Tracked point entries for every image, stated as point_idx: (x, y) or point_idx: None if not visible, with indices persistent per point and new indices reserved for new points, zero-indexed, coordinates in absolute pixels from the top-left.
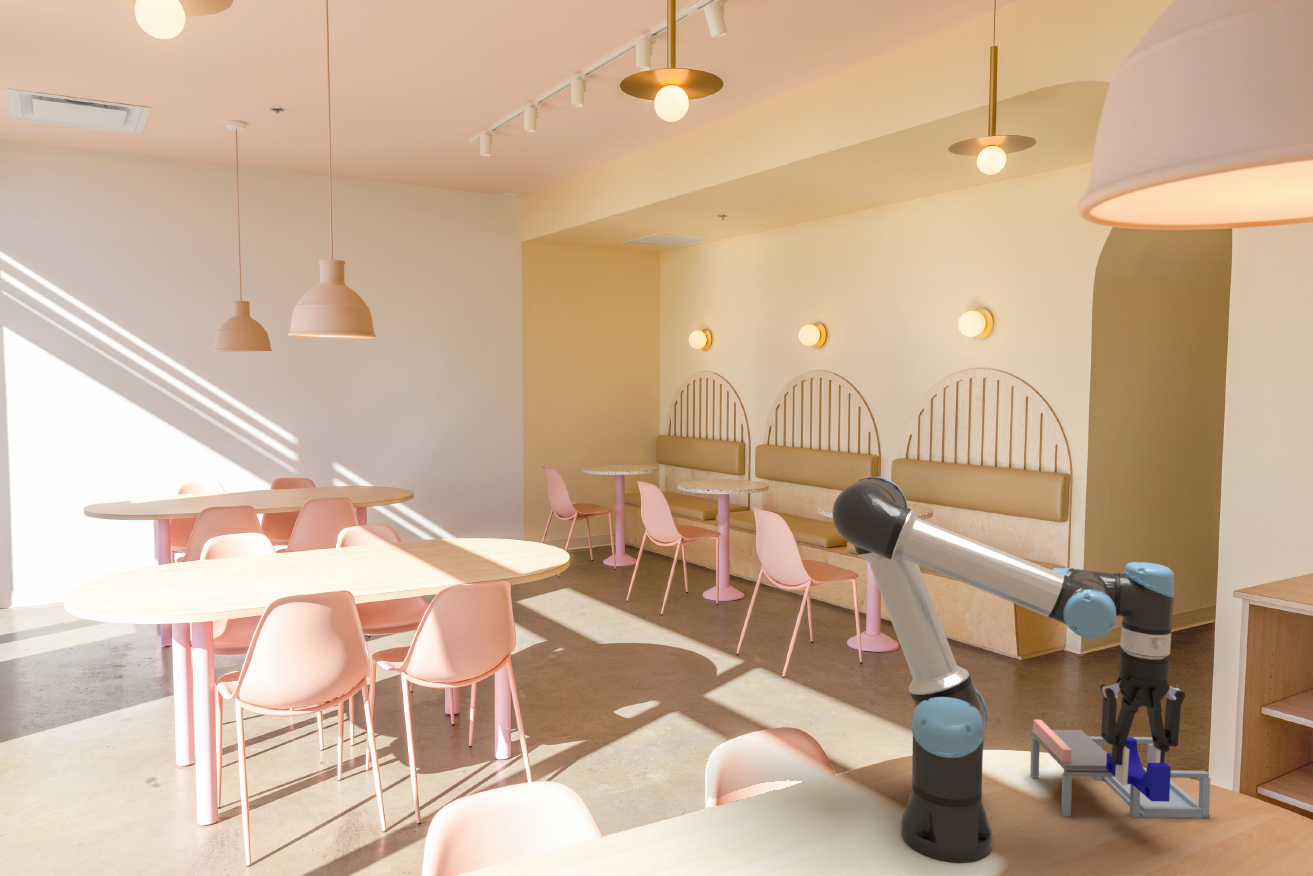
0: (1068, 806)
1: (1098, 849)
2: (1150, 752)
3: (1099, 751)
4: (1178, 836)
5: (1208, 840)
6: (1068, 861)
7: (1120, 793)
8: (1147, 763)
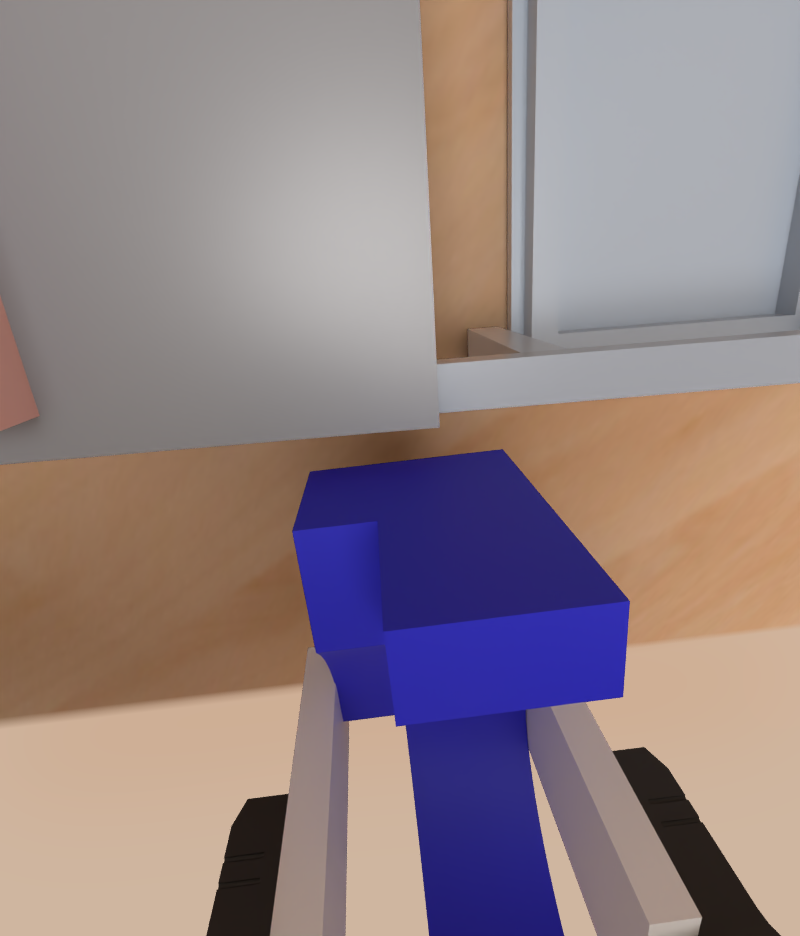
0: None
1: (239, 613)
2: (607, 873)
3: (366, 110)
4: (573, 494)
5: (667, 509)
6: (119, 690)
7: (511, 124)
8: (556, 725)
